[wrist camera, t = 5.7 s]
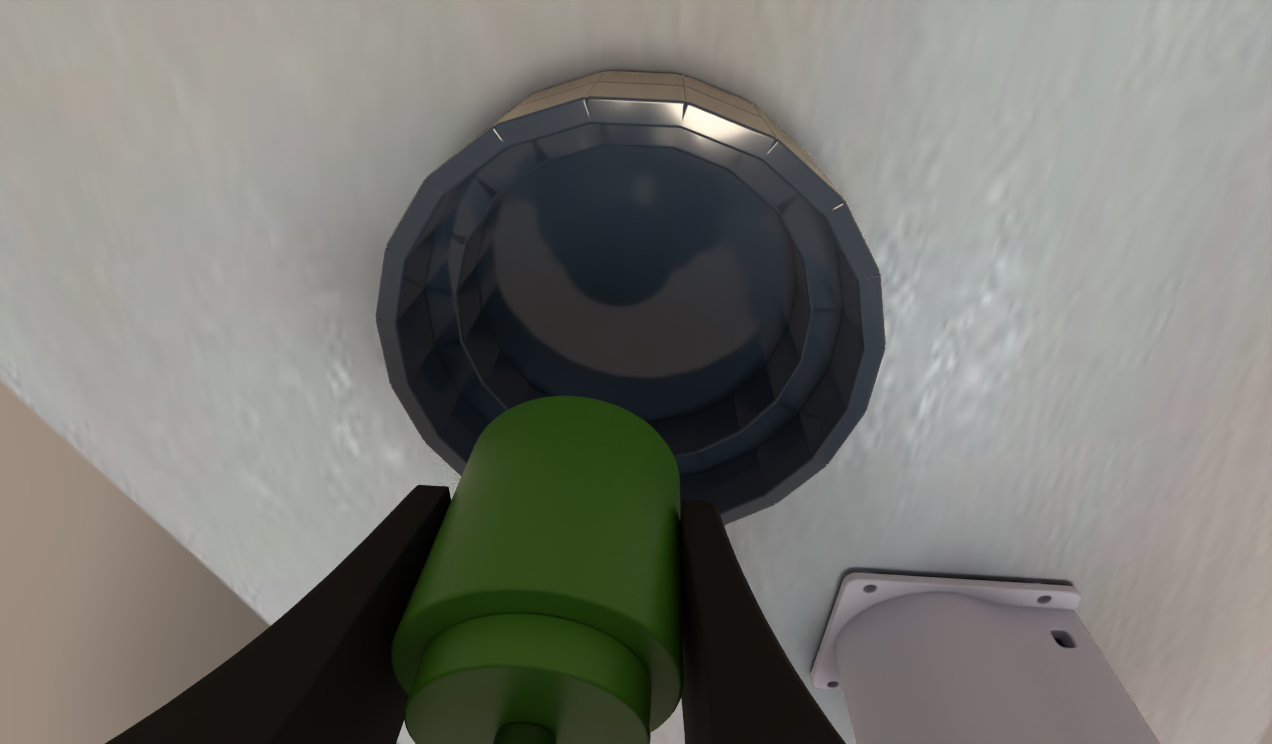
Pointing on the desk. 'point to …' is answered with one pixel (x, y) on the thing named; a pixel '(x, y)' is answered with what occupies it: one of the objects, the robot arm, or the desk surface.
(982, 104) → the desk surface
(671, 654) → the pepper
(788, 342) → the bowl
